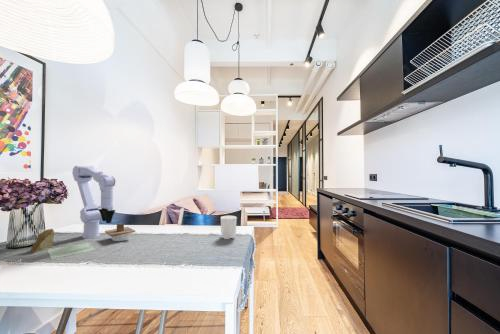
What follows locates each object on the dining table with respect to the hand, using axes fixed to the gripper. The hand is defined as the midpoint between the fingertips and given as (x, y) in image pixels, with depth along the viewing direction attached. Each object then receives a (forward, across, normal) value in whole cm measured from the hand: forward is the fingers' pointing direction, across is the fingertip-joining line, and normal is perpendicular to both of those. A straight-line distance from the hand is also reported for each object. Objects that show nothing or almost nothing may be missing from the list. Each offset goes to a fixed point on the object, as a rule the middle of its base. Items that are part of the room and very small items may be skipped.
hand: (106, 221), depth 121 cm
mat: (+10, +6, -16) cm, 20 cm away
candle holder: (+12, +46, +52) cm, 70 cm away
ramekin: (+11, +4, +6) cm, 13 cm away
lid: (+6, +4, +6) cm, 9 cm away
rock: (+10, -6, -26) cm, 29 cm away
